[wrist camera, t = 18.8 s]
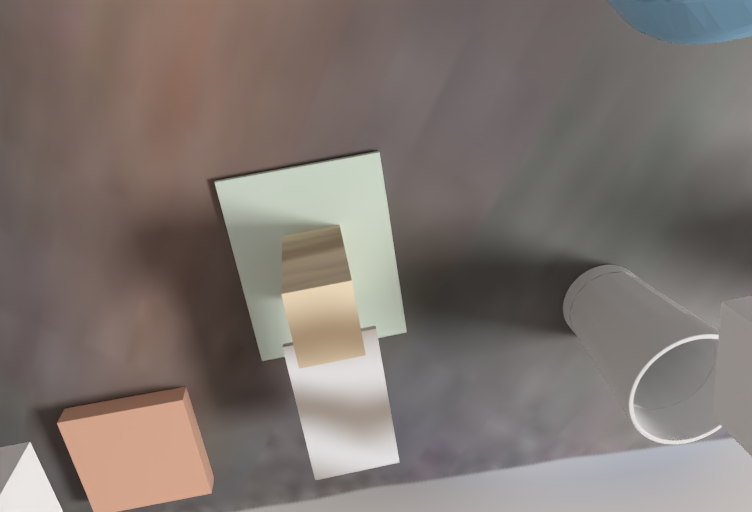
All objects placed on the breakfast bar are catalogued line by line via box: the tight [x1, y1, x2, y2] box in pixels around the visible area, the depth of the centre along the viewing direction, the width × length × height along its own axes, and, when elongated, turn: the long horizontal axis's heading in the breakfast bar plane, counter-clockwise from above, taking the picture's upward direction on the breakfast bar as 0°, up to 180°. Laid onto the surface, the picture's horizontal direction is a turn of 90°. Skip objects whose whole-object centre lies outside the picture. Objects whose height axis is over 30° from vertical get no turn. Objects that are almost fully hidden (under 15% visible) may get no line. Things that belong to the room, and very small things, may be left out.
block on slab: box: [281, 225, 399, 480], centre depth 43 cm, size 16×6×9 cm, turn 8°
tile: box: [57, 387, 214, 512], centre depth 49 cm, size 2×9×9 cm
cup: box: [563, 265, 722, 444], centre depth 44 cm, size 8×8×12 cm
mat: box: [215, 151, 407, 361], centre depth 45 cm, size 14×11×1 cm
